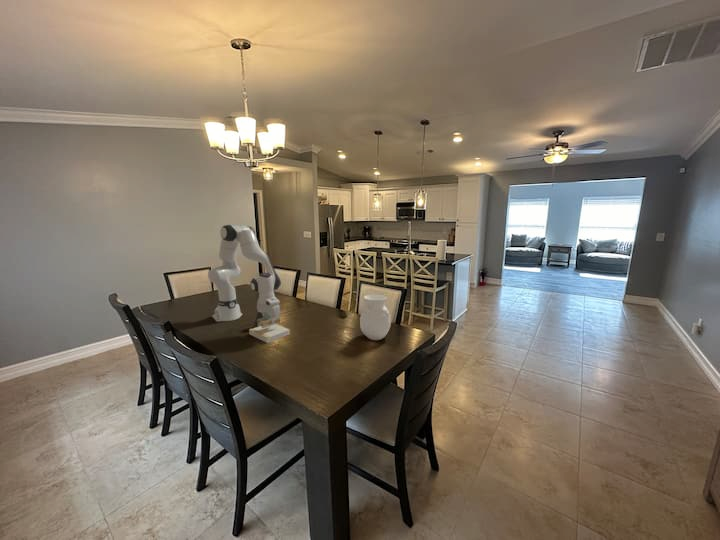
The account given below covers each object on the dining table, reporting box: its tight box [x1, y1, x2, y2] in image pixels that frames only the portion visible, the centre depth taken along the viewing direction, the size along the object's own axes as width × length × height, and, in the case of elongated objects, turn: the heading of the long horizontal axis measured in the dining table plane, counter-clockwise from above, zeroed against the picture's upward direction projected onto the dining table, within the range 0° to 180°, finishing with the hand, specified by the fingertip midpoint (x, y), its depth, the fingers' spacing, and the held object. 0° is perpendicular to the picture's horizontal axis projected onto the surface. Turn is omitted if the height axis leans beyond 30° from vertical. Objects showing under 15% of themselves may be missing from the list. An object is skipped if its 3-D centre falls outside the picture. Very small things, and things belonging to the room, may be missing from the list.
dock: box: [248, 323, 291, 344], centre depth 177 cm, size 20×16×3 cm
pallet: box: [257, 315, 281, 328], centre depth 176 cm, size 6×12×4 cm, turn 140°
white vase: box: [359, 293, 392, 341], centre depth 169 cm, size 19×18×25 cm
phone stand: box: [253, 310, 264, 328], centre depth 189 cm, size 9×6×12 cm, turn 136°
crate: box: [264, 312, 271, 320], centre depth 175 cm, size 4×4×4 cm
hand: (268, 321), depth 176 cm, fingers closed on pallet, 6 cm apart
